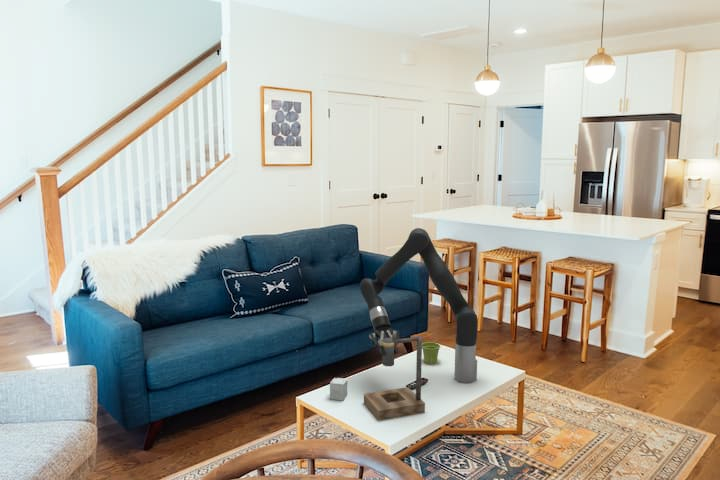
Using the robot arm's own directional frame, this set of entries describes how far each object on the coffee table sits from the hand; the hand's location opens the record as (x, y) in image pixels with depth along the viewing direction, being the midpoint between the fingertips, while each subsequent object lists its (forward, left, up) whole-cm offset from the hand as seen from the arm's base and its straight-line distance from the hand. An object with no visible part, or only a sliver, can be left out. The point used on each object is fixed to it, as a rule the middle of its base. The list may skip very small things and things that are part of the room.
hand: (390, 354), depth 233 cm
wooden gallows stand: (+3, +12, -18) cm, 22 cm away
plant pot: (-34, -27, -18) cm, 47 cm away
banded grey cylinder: (0, -2, -5) cm, 5 cm away
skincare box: (+21, -5, -18) cm, 29 cm away
